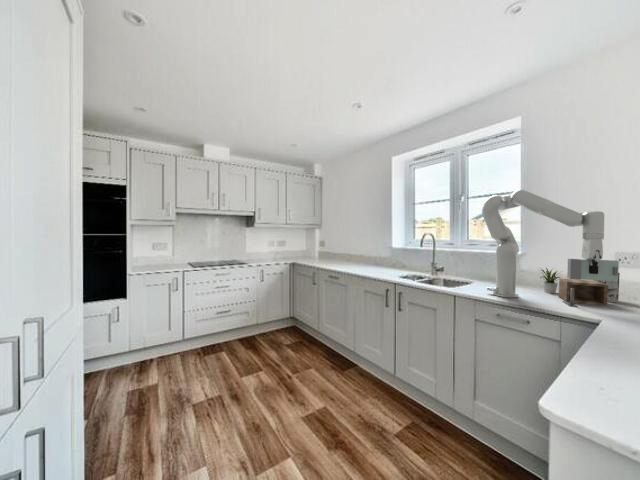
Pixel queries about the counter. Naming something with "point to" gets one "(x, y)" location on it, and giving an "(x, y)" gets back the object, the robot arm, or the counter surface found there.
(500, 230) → the robot arm
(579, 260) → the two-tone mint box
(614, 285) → the coffee box
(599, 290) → the cabinet
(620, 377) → the counter surface
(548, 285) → the house plant
